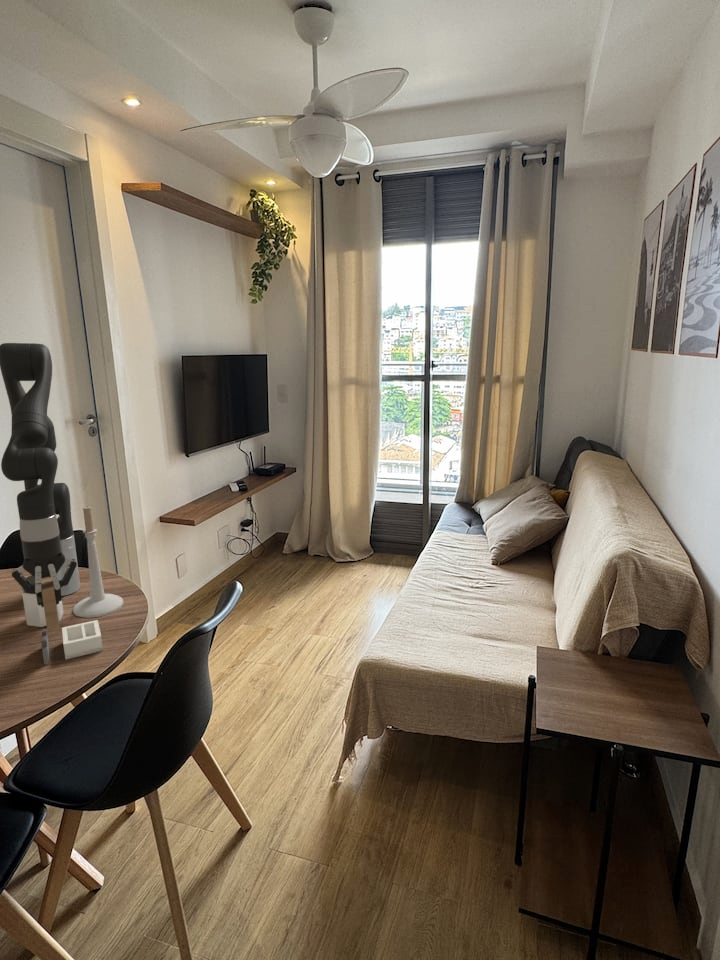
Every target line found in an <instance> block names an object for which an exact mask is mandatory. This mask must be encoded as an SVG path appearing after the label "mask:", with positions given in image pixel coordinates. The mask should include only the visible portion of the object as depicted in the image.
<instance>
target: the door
mask: <svg viewBox="0 0 720 960" xmlns="http://www.w3.org/2000/svg"><path fill="white" fill-rule="evenodd" d="M41 589H42V597H38V603H40V602H43V605H44V611H45V618H46V625H47V626H46V631H47V632H50V631H51V632H52V631H54V630H58V629H60V623H59V622H60V621H59V619H58V610H57V604H56V599H55V592H54V585H53V582H52V579H51V577H47V578H41Z"/></svg>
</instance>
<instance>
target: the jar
mask: <svg viewBox="0 0 720 960" xmlns="http://www.w3.org/2000/svg"><path fill="white" fill-rule="evenodd" d="M25 578H26V579H27V580H28V581H29V582H30V583H31V584H32V585H35V577H34V576H32V575H31V574H30V575H29V576H27V577H25ZM44 578H47V577H44ZM21 587H22V586H21ZM22 591H23V592H22V593H21V595H22V601H23V609H24V615H25V620H26V625H27V626H30V627H37V628H38V627H39V628H43V627H47V625H46V618H45V611H44V607H41V605H38V604H37V597H36V593H35V592H29V593H28V592H26V591H25V590H24V589H23V587H22ZM57 610H58V619H59V622H60V621H61V619H62V618H63V616H64V606H63V600H61V601H59V604H57Z"/></svg>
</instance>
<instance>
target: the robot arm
mask: <svg viewBox="0 0 720 960" xmlns="http://www.w3.org/2000/svg"><path fill="white" fill-rule="evenodd" d="M0 373H1V375H2V380H3V383H4V387H5V391H6V395H7V398H8V402H9V406H10V407H9V408H10V412H11V433H10V434H11V435H10V438H9V440H8V441H9V442H8V444H7V446H6V448H5V450H4V452H3V455H2V458H1V462H0V463H1V464H0V466H1V472H2V474H3V476H4V477H5V478H6V479H7V480H10V481H12V482H22V481H23V483H24V490H23V491H20V492H19V493H18V494H17V495H16V505H17V509H18V517H19V533H20V534H19V535H20V540H21V547H22V554H23V562H22V565H20V566H19V567H17V568H13V569H12V571H11V577H12V578H13V579H14V580H15V581H16V582H17V584H19V585H20V586H21V587H23V588H22V590H23V589H24V590H25V591H26V592H28V593H29V592H35V593H36V597H37V604H38V605H41V607H44V605H43V602H40V603H38V597H42V589H41V578H44V577H51V579H52V582H53V585H54V592H55V599H56V604H59V601H61V600H62V599H63V598H62V597H64V596H68V595H71V594H74V593H76V592H78V591H79V590H80V589H81V581H80V573H79V566H78V565H79V564H78V557H77V550H76V542H75V541H76V540H75V533H74V528H73V521H72V511H71V510H72V509H71V508H72V507H71V495H70V494H71V493H70V490H69V487H68V485H67V484H66V483H65V482H55V479H56V475H57V470H58V463H59V462H58V461H59V459H58V457H57V456H58V455H57V454H56V453H55V451H56V448H57V437H56V432H55V431H56V430H55V426H54V423H53V421H52V420H51V418H50V417H49V416H48V407H49V399H50V395H51V394H50V393H51V386H52V380H53V379H52V378H53V361H52V356H51V351H50V349H49V347H48V346H46V345H45V344H43V343H37V342H36V343H35V342H34V343H31V342H30V343H25V342H23V343H21V342H4V343H1V344H0ZM22 382H34V383H33V385H32V386H31V387H30V388H29V390H28V391H27V392H26V391H25V389H24V387H23V385H22ZM39 480H41V482H40V484H38V482H39ZM56 515H57V516H58V517H57V516H56ZM25 571H26V572H27V573H29V575H30V576H31V575H32V576H34V577H35V585H32V584H31V583H30V582H29V581H28V580H27V579H26V578H27V577H26V576H25ZM62 601H63V600H62Z"/></svg>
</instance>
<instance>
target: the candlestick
mask: <svg viewBox="0 0 720 960" xmlns="http://www.w3.org/2000/svg"><path fill="white" fill-rule="evenodd" d="M82 510H83V519H84V527H85V529H84V530H83V531H82V533H83V534H84V537H85V539H87V544H86V545H87V555H88V556H87V557H88V560H87V561H88V575H89V576H88V577H89V588H90V589H89V591H90V594H89V595H90V596H87V597H84V598H83V599H82V600H80V601H79V602H77V603H76V604H75V605H74V606H73V610H72V611H73V614H74V615H75V616H76V617H79V618H84V619H87V618H88V619H89V618H91V619H93V618H99V617H104V616H108V615H110V614H113V613H115V612H116V611H119V610H120V609H121V608H122V607H123V606H124V599H123V598H122V597H121V596H120V595H116V594H113V593H105V590H104V584H103V579H102V574H101V567H100V562H99V556H98V550H97V545H96V544H97V543H96V541H95V538H96V535H97V534H96V532H97V531H98V529H97V528H95V527H94V519H93V511H92V510H93V509H92V507H91V506H84V507H83V508H82Z"/></svg>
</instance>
